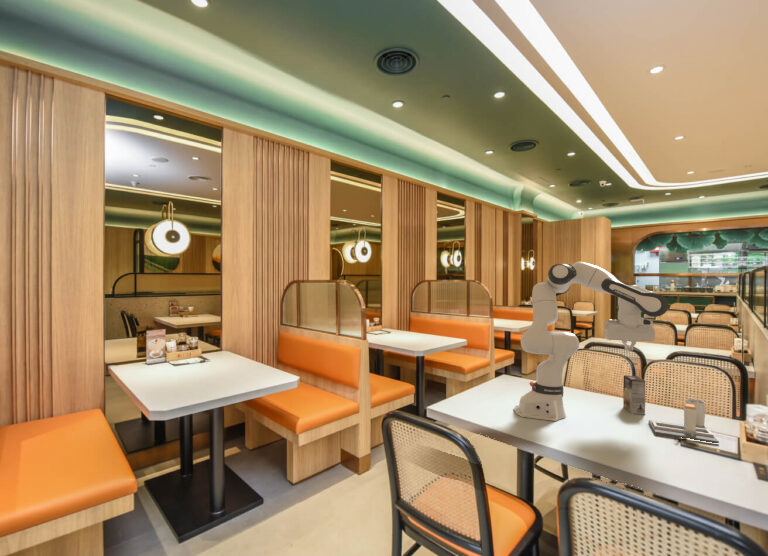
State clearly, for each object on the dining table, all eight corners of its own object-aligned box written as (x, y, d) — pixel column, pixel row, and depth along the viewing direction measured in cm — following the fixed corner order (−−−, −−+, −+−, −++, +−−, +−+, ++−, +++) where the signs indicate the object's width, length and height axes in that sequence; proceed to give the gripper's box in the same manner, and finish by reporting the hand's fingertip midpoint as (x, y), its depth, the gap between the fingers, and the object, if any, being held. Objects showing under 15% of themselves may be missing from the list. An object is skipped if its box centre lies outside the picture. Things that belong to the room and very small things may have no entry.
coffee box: (622, 407, 185) (622, 374, 185) (636, 408, 184) (637, 375, 184) (630, 413, 176) (631, 379, 176) (646, 414, 175) (646, 380, 175)
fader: (686, 431, 152) (686, 406, 152) (684, 428, 155) (684, 403, 155) (695, 433, 150) (695, 407, 150) (693, 430, 153) (693, 404, 153)
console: (655, 435, 152) (655, 429, 152) (648, 423, 164) (648, 417, 164) (718, 445, 143) (718, 438, 143) (706, 432, 155) (706, 426, 155)
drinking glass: (689, 425, 162) (689, 402, 162) (683, 420, 169) (683, 398, 169) (708, 427, 160) (708, 404, 160) (701, 422, 166) (701, 399, 166)
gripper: (607, 320, 170) (607, 350, 170) (657, 321, 166) (656, 352, 167) (601, 318, 176) (601, 347, 176) (649, 319, 173) (649, 349, 173)
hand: (628, 350), depth 171 cm, fingers closed
